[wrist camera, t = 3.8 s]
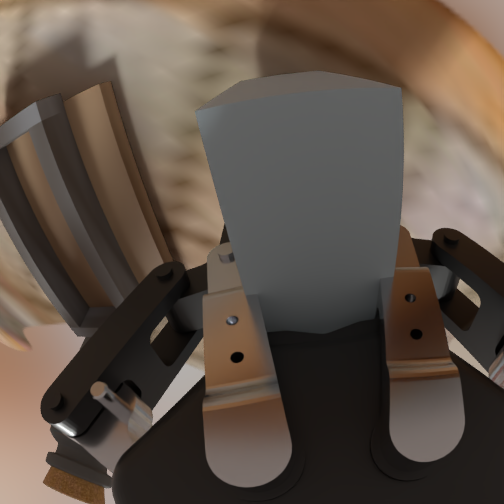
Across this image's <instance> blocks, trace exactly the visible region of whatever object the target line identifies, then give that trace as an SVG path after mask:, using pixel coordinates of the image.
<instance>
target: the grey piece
mask: <svg viewBox="0 0 504 504" xmlns="http://www.w3.org/2000/svg"><path fill="white" fill-rule="evenodd" d="M0 219H1V221H2V223H3V225H4V227H5V229H6V230H7V232H8V234H9V236H10V238H11V240H12V241H13V243H14V245H15V247H16V249H17V250H18V252H19V254H20V255H21V257H22V259H23V260H24V262H25V264H26V265H27V267H28V268H29V270H30V272H31V273H32V275H33V276H34V278H35V279H36V281H37V282H38V284H39V285H40V287H41V288H42V290H43V291H44V293H45V294H46V296H47V297H48V298H49V300H50V301H51V303H52V304H53V305H54V307H55V308H56V309H57V311H58V312H59V313H60V315H61V316H62V317H63V319H64V320H65V321H66V323H67V324H68V325H69V326H70V328H71V329H72V330H73V331H74V333H75V334H76V335H77V336H84V337H92V336H93V334H94V333H95V332H96V331H97V330H98V329H99V328H100V326H101V325H102V324H103V323H104V322H105V321H106V320H107V319H108V317H109V316H110V315H111V314H112V313H113V312H114V311H115V310H116V309H117V307H118V306H119V305H120V304H121V303H122V302H123V301H124V300H125V299H126V298H127V296H128V295H129V294H130V293H131V292H132V291H133V290H134V289H135V288H136V287H137V286H138V285H139V284H140V283H141V281H142V280H143V279H144V278H145V277H146V276H147V275H148V274H149V273H150V272H151V271H152V270H153V269H154V268H156V267H157V266H159V265H161V264H163V263H166V262H171V261H173V259H172V257H171V254H170V252H169V250H168V247H167V245H166V242H165V240H164V237H163V235H162V232H161V230H160V227H159V225H158V222H157V220H156V217H155V214H154V212H153V209H152V207H151V204H150V201H149V199H148V196H147V193H146V190H145V188H144V185H143V182H142V179H141V177H140V174H139V171H138V168H137V165H136V162H135V159H134V156H133V153H132V150H131V147H130V144H129V141H128V138H127V135H126V132H125V129H124V125H123V122H122V119H121V116H120V112H119V109H118V106H117V102H116V99H115V95H114V92H113V88H112V84H111V81H109V82H105V83H101V84H98V85H95V86H93V87H91V88H89V89H87V90H85V91H83V92H81V93H79V94H77V95H75V96H73V97H71V98H69V99H67V100H65V101H63V100H62V97H61V93H59V94H56V95H53V96H50V97H47V98H44V99H41V100H38V101H36V102H34V103H33V104H31V105H30V106H28V107H27V108H25V109H24V110H22V111H21V112H19V113H18V114H16V115H15V116H14V117H12V118H11V119H10V120H8V121H7V122H5V123H4V124H3V125H2V126H0Z"/></svg>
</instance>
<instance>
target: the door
mask: <svg viewBox="0 0 504 504" xmlns="http://www.w3.org/2000/svg"><path fill="white" fill-rule="evenodd" d="M195 114H196V118H197V121H198V125H199V129H200V133H201V137H202V141H203V144H204V148H205V152H206V156H207V160H208V163H209V167H210V171H211V175H212V178H213V182H214V186H215V189H216V193H217V197H218V200H219V204H220V208H221V211H222V215H223V219H224V222H225V226H226V229H227V233H228V236H229V240H230V244H231V247H232V251H233V254H234V258H235V261H236V265H237V268H238V272H239V275H240V279H241V282H242V286H243V289H244V293H245V295H252V294H258V297H259V301H260V305H261V309H262V313H263V317H264V321H265V325H266V329H267V332H276V331H286V330H287V331H297V332H307V333H318V334H325V333H329V332H332V331H335V330H337V329H340V328H343V327H346V326H348V325H351V324H354V323H356V322H359V321H364V320H371V319H374V317H375V311H376V304H377V297H378V290H379V282H380V278H387V277H394V271H395V264H396V257H397V249H398V240H399V231H400V220H401V208H402V192H403V166H404V131H403V105H402V90H401V88H400V87H396V86H392V85H389V84H385V83H381V82H376V81H372V80H368V79H363V78H358V77H353V76H348V75H343V74H337V73H331V72H324V71H309V72H299V73H290V74H282V75H275V76H268V77H262V78H255V79H250V80H244V81H240V82H238V83H237V84H235V85H234V86H232V87H230V88H229V89H227V90H226V91H224V92H223V93H221V94H219V95H218V96H216V97H215V98H213V99H212V100H210V101H209V102H208V103H206V104H205V105H203V106H202V107H200V108H199V109H197V110H196V111H195Z"/></svg>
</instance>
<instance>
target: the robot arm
mask: <svg viewBox="0 0 504 504" xmlns="http://www.w3.org/2000/svg"><path fill="white" fill-rule="evenodd" d="M459 279H461V280H463V281H464V282H465V283H466V284H467V285H469V286H470V287H471V288H472V289H473V290H474V291H476V292H477V294H478V295H479V297H480V301H481V305H480V308H478V307H477V306H476V305H475V304H474V303H473V302H472V301H471V300H470V299H468V298H467V297H466V296H465V295H464V294H463V293H462V292H460V291H459V290H458V289H457V286H458V283H459ZM165 316H166V318H167V320H168V321H169V322H168V323H167V324H166V325H165V327H164V328H163V329H162V330H161V332H160V333H159V334H158V336H157V337H156V338H155V339H154V341H153V342H152V343H151V345H150V336H151V333H152V332H153V330H154V329H155V328H156V326H157V325H158V324H159V323H160V322H161V320H162V319H163V318H164V317H165ZM445 328H446V329H447V330H448V331H449V332H450V333H451V334H452V335H453V336H454V337H455V338H456V339H457V340H458V341H459V342H460V343H461V344H462V345H463V346H464V347H465V348H466V349H467V350H468V351H469V352H470V354H471V355H472V356H473V357H474V358H475V359H476V360H477V361H478V362H479V363H480V364H481V365H482V366H483V368H484V369H485V370H486V371H487V372H488V373H489V378H488V377H487V376H485V375H484V374H483V373H481V372H480V371H478V370H477V369H476V368H474V367H473V366H471V365H470V364H468V363H467V362H466V361H464V360H463V359H462V358H460V357H459V356H457V355H456V354H455V353H453V352H452V351H450V350H449V347H448V342H447V337H446V332H445ZM202 338H204V362H205V375H204V376H203V377H202V378H201V379H200V380H199V381H198V382H197V383H196V384H195V385H194V386H193V387H192V388H191V389H190V390H189V391H188V392H187V393H186V394H185V395H184V396H183V397H182V398H181V399H180V400H179V401H178V402H177V403H176V404H175V405H174V406H173V407H172V408H171V409H170V410H169V411H168V412H167V413H166V414H165V415H164V416H163V417H162V418H161V419H160V420H159V421H157V422H156V423H155V424H154V425H153V426H152V420H153V414H152V410H153V408H154V407H155V406H156V404H157V403H158V401H159V400H160V398H161V397H162V395H163V394H164V393H165V391H166V390H167V388H168V387H169V385H170V384H171V382H172V381H173V379H174V378H175V377H176V375H177V374H178V373H179V371H180V370H181V368H182V367H183V365H184V364H185V362H186V361H187V360H188V358H189V357H190V355H191V354H192V352H193V351H194V349H195V348H196V347H197V345H198V344H199V342H200V341H201V339H202ZM41 414H42V417H43V418H44V420H45V421H47V422H48V423H49V424H51V425H52V426H54V427H55V428H56V429H58V430H59V431H61V432H62V433H63V434H64V435H65V436H67V437H68V438H70V439H71V440H73V441H75V442H76V443H78V444H80V445H81V446H83V447H84V448H85V449H86V450H87V451H88V452H89V453H90V454H91V455H92V456H93V457H95V458H96V459H97V460H98V461H99V462H100V463H101V464H102V465H104V466H105V467H106V468H107V469H108V470H110V471H111V472H112V473H113V476H112V492H113V497H114V500H115V503H116V504H504V263H503V262H502V261H500V260H499V259H498V258H496V257H495V256H494V255H492V254H491V253H490V252H488V251H487V250H485V249H484V248H483V247H481V246H480V245H479V244H477V243H476V242H474V241H473V240H471V239H470V238H468V237H467V236H466V235H464V234H463V233H461V232H459V231H457V230H454V229H450V228H441V229H438V230H436V231H435V232H434V233H433V237H432V240H422V239H415V238H411V236H410V233H409V231H408V230H407V229H406V228H405V227H403V226H401V225H400V231H399V240H398V249H397V257H396V264H395V271H394V277H387V278H380V282H379V290H378V297H377V304H376V311H375V317H374V319H371V320H364V321H359V322H356V323H354V324H351V325H348V326H346V327H343V328H340V329H337V330H335V331H332V332H329V333H325V334H318V333H307V332H297V331H287V330H286V331H276V332H267V329H266V325H265V321H264V317H263V313H262V309H261V305H260V301H259V297H258V294H252V295H245V293H244V289H243V286H242V282H241V279H240V275H239V272H238V268H237V265H236V261H235V258H234V254H233V251H232V247H231V244H230V240H229V236H228V233H227V229H226V226H225V224H224V229H223V232H222V237H221V241H220V245H218V246H216V247H215V248H213V249H212V250H211V251H210V252H209V254H208V256H207V263H205V264H203V265H201V266H198V267H195V268H192V269H190V270H187V271H186V269H185V267H184V265H183V264H182V263H180V262H176V261H171V262H166V263H163V264H161V265H159V266H157V267H156V268H154V269H153V270H152V271H151V272H150V273H149V274H148V275H147V276H146V277H145V278H144V279H143V280H142V281H141V283H140V284H139V285H138V286H137V287H136V288H135V289H134V290H133V291H132V292H131V293H130V294H129V295H128V296H127V298H126V299H125V300H124V301H123V302H122V303H121V304H120V305H119V306H118V307H117V309H116V310H115V311H114V312H113V313H112V314H111V315H110V316H109V317H108V319H107V320H106V321H105V322H104V323H103V324H102V325H101V326H100V328H99V329H98V330H97V331H96V332H95V333H94V334H93V336H92V337H91V338H90V339H89V340H88V341H87V343H86V344H85V345H84V346H83V347H82V348H81V350H80V351H79V352H78V353H77V354H76V356H75V357H74V358H73V359H72V360H71V361H70V363H69V364H68V365H67V366H66V368H65V369H64V370H63V371H62V372H61V374H60V375H59V376H58V377H57V379H56V380H55V381H54V382H53V383H52V385H51V386H50V387H49V389H48V390H47V391H46V393H45V394H44V396H43V398H42V401H41Z"/></svg>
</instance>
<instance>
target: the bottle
mask: <svg viewBox="0 0 504 504" xmlns="http://www.w3.org/2000/svg"><path fill="white" fill-rule="evenodd" d="M90 338H91V337H85V340H84V342H83V344H82V346H81V348H82V347H83V346H84V345H85V344H86V343H87V341H88V340H89V339H90ZM81 348H80V350H81ZM50 431H51V433H52V435H53V437H54V438H55V440H56V441H57V442H58V447H57V450H56V452H55V453H54V452H48V454H47V457H46V462H47V463H48V464H49V465H51V468H50V470H49V472H48V473H47V475H46V477H45V479H44V481H43V483H44V484H45V485H47V486H48V487H50V488H52V489H54V490H56V491H58V492H60V493H63V494H65V495H67V496H69V497H72V498H74V499H77V500H79V501H82V502H85V503H88V504H105V498H104V488H111V487H112V477H110V476H109V475H107V468H106V467H105V466H104V465H102V464H101V463H100V462H99V461H98V460H97V459H96V458H95V457H93V456H92V455H91V454H90V453H89V452H88V451H87V450H86V449H85V448H84V447H83V446H81V445H80V444H78V443H76V442H75V441H73V440H71V439H70V438H68V437H67V436H65V435H64V434H63V433H62V432H61V431H59V430H58V429H56V428H55V427H54V426H52V425H51V428H50Z"/></svg>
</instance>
